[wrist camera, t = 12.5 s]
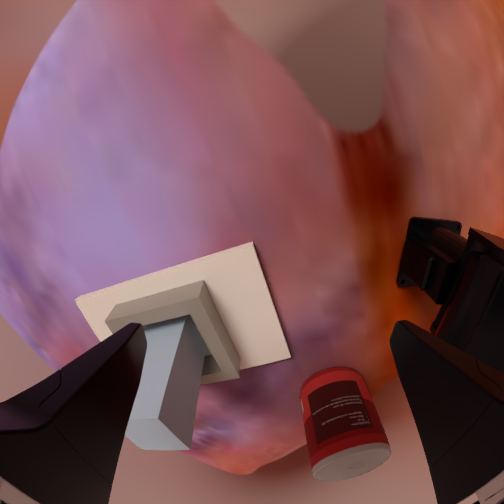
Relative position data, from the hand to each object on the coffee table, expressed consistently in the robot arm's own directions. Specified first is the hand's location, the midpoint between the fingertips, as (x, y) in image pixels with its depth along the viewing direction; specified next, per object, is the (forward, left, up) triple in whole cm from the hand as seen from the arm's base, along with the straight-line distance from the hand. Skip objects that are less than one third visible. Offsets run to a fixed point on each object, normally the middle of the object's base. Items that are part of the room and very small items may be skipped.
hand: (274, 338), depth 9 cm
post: (+7, +10, -12) cm, 17 cm away
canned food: (-9, +19, -13) cm, 25 cm away
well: (+7, +10, -13) cm, 18 cm away
